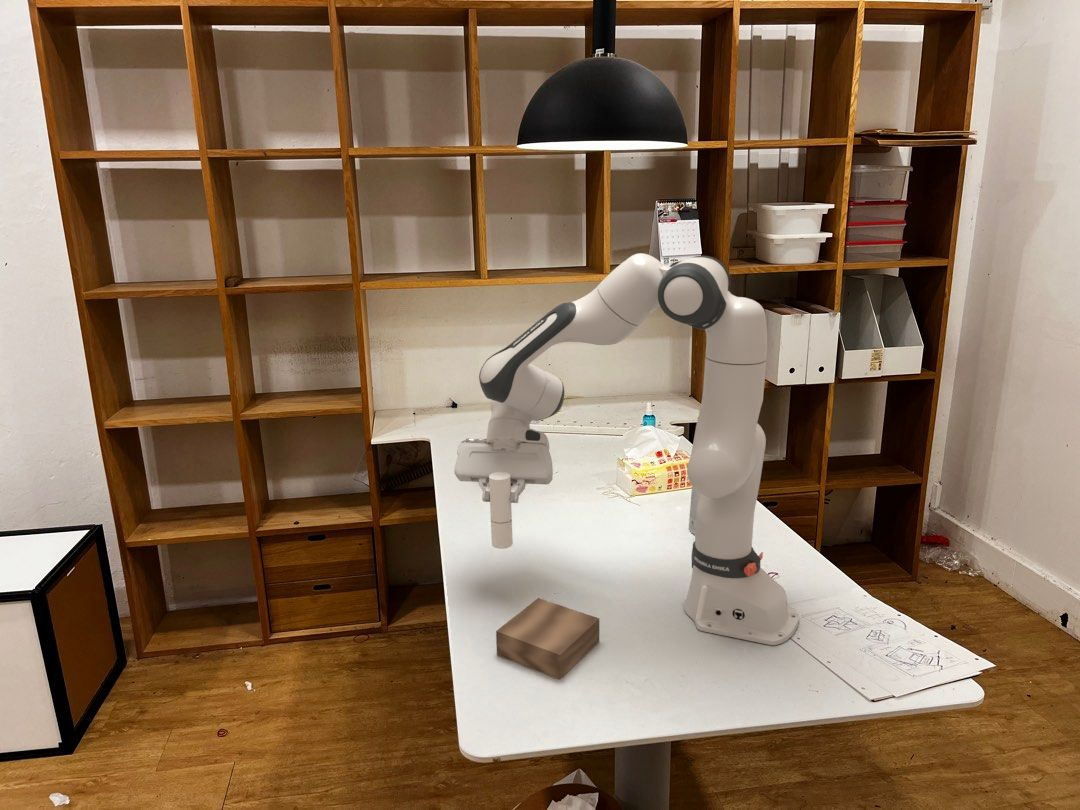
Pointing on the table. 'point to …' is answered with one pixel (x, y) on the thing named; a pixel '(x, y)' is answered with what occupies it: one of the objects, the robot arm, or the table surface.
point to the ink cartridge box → (693, 509)
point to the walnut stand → (548, 637)
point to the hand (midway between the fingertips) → (499, 501)
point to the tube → (500, 510)
